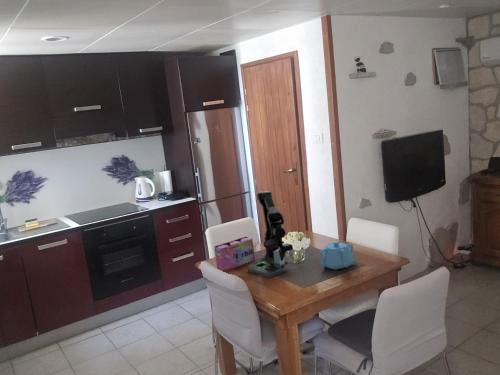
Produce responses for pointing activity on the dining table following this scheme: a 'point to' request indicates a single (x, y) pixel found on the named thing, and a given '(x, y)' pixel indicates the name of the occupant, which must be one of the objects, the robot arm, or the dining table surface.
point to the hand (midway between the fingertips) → (279, 259)
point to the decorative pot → (337, 255)
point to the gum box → (234, 253)
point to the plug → (278, 258)
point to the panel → (266, 269)
